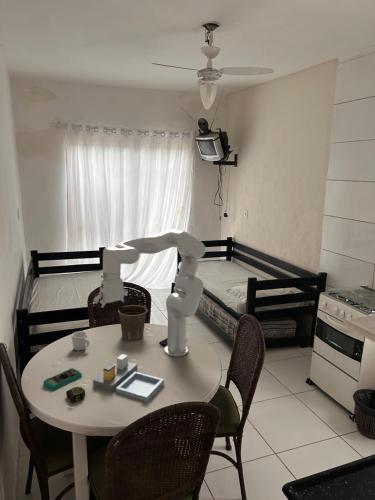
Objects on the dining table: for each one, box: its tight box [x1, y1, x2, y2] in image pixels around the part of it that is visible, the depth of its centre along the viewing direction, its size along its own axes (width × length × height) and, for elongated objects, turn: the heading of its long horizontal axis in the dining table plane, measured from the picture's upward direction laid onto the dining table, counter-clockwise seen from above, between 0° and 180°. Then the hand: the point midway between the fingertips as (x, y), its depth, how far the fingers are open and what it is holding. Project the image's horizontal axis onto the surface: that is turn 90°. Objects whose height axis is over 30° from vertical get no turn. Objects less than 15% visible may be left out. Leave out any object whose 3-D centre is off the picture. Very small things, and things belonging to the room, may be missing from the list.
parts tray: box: [115, 371, 165, 404], centre depth 159 cm, size 15×15×2 cm
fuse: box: [116, 353, 129, 370], centre depth 170 cm, size 4×3×8 cm, turn 156°
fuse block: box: [92, 361, 138, 393], centre depth 166 cm, size 20×10×4 cm, turn 156°
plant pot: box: [117, 304, 148, 342], centre depth 209 cm, size 16×16×16 cm
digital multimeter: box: [43, 367, 82, 391], centre depth 164 cm, size 8×15×3 cm, turn 141°
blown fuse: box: [102, 363, 115, 381], centre depth 161 cm, size 4×3×8 cm, turn 156°
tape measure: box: [65, 386, 86, 404], centre depth 151 cm, size 7×7×4 cm
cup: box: [71, 330, 90, 351], centre depth 193 cm, size 11×8×8 cm
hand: (111, 312), depth 164 cm, fingers open, 9 cm apart
